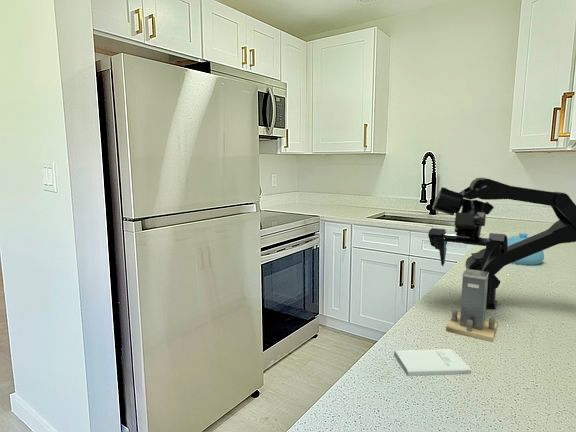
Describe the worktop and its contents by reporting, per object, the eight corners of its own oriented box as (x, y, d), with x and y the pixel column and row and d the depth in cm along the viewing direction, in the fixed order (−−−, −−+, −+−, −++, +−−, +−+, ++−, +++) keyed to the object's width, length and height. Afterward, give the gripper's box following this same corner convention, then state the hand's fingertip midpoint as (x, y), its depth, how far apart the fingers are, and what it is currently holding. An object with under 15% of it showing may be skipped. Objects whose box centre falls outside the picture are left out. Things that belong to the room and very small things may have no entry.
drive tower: (463, 318, 94) (466, 268, 92) (485, 323, 92) (488, 271, 90) (459, 325, 90) (462, 273, 88) (482, 330, 88) (485, 277, 86)
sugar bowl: (518, 255, 160) (520, 228, 159) (552, 264, 146) (555, 235, 144) (491, 258, 156) (493, 231, 154) (524, 267, 141) (526, 238, 140)
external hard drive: (393, 356, 79) (450, 354, 80) (407, 378, 71) (471, 376, 72) (394, 349, 79) (451, 347, 80) (408, 370, 71) (471, 368, 72)
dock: (454, 316, 98) (455, 303, 97) (497, 325, 92) (498, 312, 92) (445, 330, 90) (446, 317, 89) (492, 341, 84) (493, 327, 84)
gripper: (431, 199, 102) (418, 246, 95) (509, 202, 92) (502, 255, 84) (437, 223, 110) (425, 268, 102) (510, 229, 99) (503, 279, 92)
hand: (461, 267), depth 95 cm, fingers open, 9 cm apart
